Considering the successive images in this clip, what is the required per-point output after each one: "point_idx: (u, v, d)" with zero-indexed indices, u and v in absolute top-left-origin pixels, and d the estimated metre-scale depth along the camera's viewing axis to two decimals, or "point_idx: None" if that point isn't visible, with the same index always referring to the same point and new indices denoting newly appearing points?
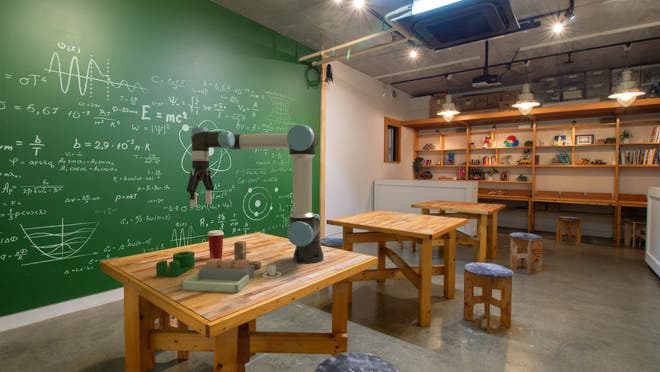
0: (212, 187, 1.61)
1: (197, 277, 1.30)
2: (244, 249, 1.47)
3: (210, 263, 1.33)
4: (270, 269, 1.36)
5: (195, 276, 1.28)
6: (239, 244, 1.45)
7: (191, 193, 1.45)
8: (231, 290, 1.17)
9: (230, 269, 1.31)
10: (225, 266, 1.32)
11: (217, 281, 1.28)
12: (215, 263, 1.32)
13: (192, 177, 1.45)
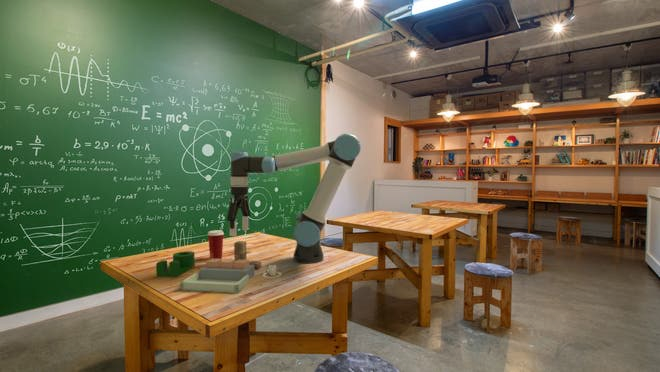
0: (249, 212, 1.55)
1: (197, 277, 1.30)
2: (244, 249, 1.47)
3: (210, 263, 1.33)
4: (270, 269, 1.36)
5: (195, 276, 1.28)
6: (239, 244, 1.45)
7: (231, 222, 1.38)
8: (231, 290, 1.17)
9: (230, 269, 1.31)
10: (225, 266, 1.32)
11: (217, 281, 1.28)
12: (215, 263, 1.32)
13: (232, 205, 1.38)
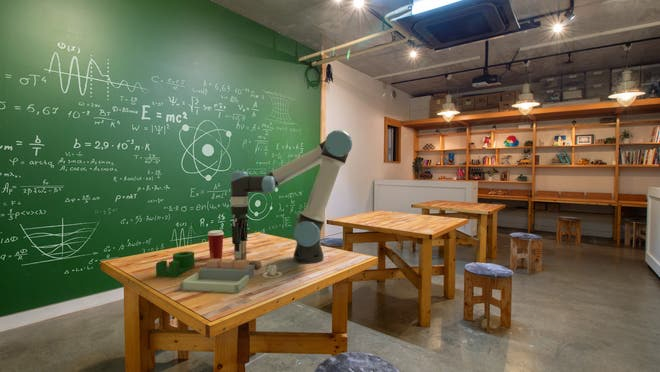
0: (246, 236, 1.51)
1: (197, 277, 1.30)
2: (244, 249, 1.46)
3: (210, 263, 1.33)
4: (271, 269, 1.36)
5: (195, 276, 1.28)
6: None
7: (236, 245, 1.43)
8: (231, 290, 1.17)
9: (230, 269, 1.31)
10: (225, 266, 1.32)
11: (217, 281, 1.28)
12: (215, 263, 1.32)
13: (234, 229, 1.41)
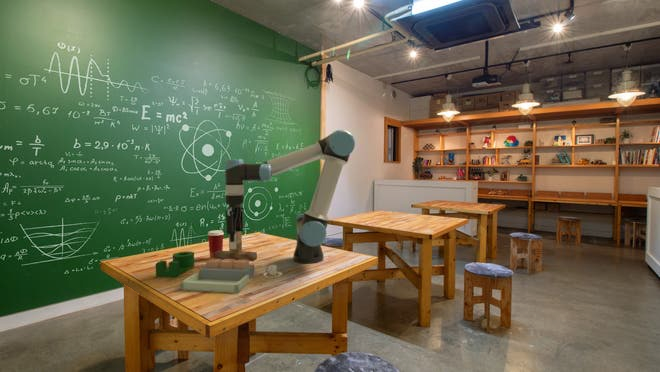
0: (241, 227, 1.46)
1: (197, 277, 1.30)
2: (239, 239, 1.41)
3: (210, 263, 1.33)
4: (271, 269, 1.36)
5: (195, 276, 1.28)
6: None
7: (231, 235, 1.38)
8: (231, 290, 1.17)
9: (230, 269, 1.31)
10: (225, 266, 1.32)
11: (217, 281, 1.28)
12: (215, 263, 1.32)
13: (229, 218, 1.35)
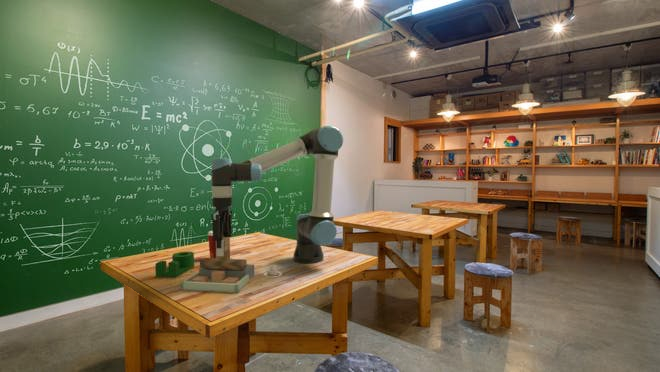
0: (230, 232, 1.34)
1: None
2: (227, 246, 1.29)
3: None
4: (271, 269, 1.37)
5: (195, 276, 1.28)
6: None
7: (218, 241, 1.26)
8: (231, 290, 1.17)
9: (230, 269, 1.31)
10: None
11: None
12: None
13: (215, 223, 1.23)
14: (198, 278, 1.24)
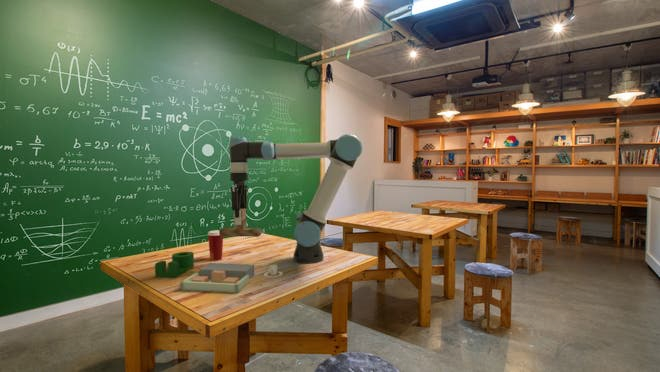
0: (245, 204, 1.50)
1: None
2: (244, 216, 1.45)
3: None
4: (271, 269, 1.37)
5: (195, 276, 1.28)
6: None
7: (236, 211, 1.42)
8: (231, 290, 1.17)
9: (230, 269, 1.31)
10: None
11: None
12: None
13: (234, 194, 1.39)
14: (198, 278, 1.24)
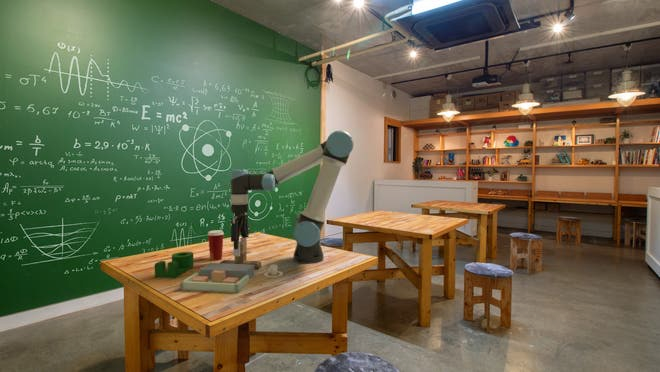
0: (247, 233, 1.52)
1: None
2: (244, 249, 1.47)
3: None
4: (272, 268, 1.37)
5: (195, 276, 1.28)
6: None
7: (235, 242, 1.41)
8: (231, 290, 1.17)
9: (230, 269, 1.31)
10: None
11: None
12: None
13: (234, 226, 1.40)
14: (198, 278, 1.24)
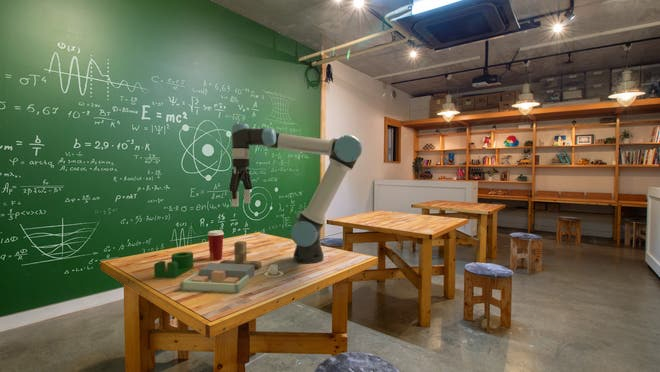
0: (250, 186, 1.56)
1: None
2: (244, 249, 1.47)
3: None
4: (272, 268, 1.37)
5: (195, 276, 1.28)
6: (239, 244, 1.45)
7: (233, 192, 1.39)
8: (231, 290, 1.17)
9: (230, 269, 1.31)
10: None
11: None
12: None
13: (234, 175, 1.40)
14: (198, 278, 1.24)
